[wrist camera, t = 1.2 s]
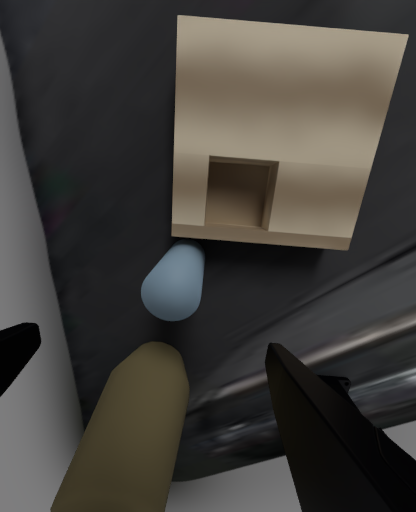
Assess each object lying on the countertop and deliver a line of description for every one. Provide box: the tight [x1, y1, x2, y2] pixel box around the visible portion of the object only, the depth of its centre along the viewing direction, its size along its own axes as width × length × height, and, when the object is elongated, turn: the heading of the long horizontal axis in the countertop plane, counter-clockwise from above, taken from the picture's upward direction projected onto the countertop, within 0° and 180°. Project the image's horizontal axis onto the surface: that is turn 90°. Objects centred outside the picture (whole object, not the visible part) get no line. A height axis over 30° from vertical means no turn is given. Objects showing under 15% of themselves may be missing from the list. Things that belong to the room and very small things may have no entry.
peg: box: [141, 239, 205, 321], centre depth 16 cm, size 4×4×8 cm
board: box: [172, 15, 409, 250], centre depth 15 cm, size 14×14×3 cm
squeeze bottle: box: [51, 342, 189, 512], centre depth 14 cm, size 8×8×18 cm
